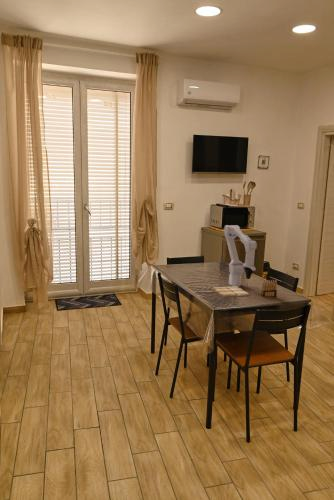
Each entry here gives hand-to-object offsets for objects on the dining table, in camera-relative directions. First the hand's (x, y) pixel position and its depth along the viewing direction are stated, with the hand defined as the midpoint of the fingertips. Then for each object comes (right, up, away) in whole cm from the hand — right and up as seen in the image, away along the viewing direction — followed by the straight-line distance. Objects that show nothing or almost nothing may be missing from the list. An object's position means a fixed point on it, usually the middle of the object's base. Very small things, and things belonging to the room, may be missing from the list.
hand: (248, 278), depth 269 cm
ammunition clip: (+12, -12, -8) cm, 19 cm away
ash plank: (-8, -10, -2) cm, 12 cm away
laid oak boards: (-17, -10, -5) cm, 20 cm away
